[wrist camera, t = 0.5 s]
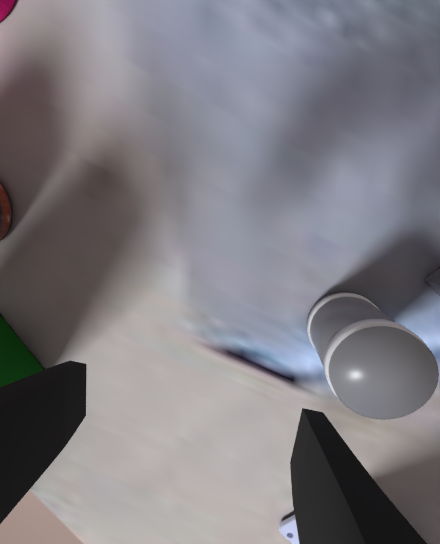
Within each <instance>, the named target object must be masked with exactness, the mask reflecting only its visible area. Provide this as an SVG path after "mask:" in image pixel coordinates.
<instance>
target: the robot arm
mask: <svg viewBox="0 0 440 544" xmlns="http://www.w3.org/2000/svg"><path fill="white" fill-rule="evenodd" d="M85 416H86V364H83V363H79V362H74V361H68V362H64V363H61V364H59V365H56V366H53V367H50V368H48V369H45V370H43V371H40V372H38V373H35V374H32V375H30V376H27V377H25V378H22V379H20V380H17V381H15V382H12V383H10V384H7V385H5V386H2V387H0V524H1V522H2V521H3V520H4V519H5V518H6V517H7V515H8V514H9V513H10V512H11V511H12V509H13V508H14V507H15V506H16V505H17V503H18V502H19V501H20V500H21V498H23V496H24V495H25V494H26V493H27V492H28V490H29V489H30V488H31V487H32V486H33V485H34V483H35V482H36V481H37V480H38V479H39V477H40V476H41V475H42V474H43V473H44V471H45V470H46V469H47V468H48V467H49V465H50V464H51V463H52V462H53V461H54V459H55V458H56V457H57V456H58V455H59V453H60V452H61V451H62V450H63V448H64V447H65V446H66V444H67V443H68V441H69V440H70V439H71V437H72V436H73V434H74V433H75V431H76V430H77V428H78V427H79V425H80V424H81V422H82V421H83V419H84V417H85ZM290 464H291V482H292V496H293V506H294V512H295V514H294V515H292V516H291V517H289V518H287V519H286V520H284V521H282V522H281V523H280V524H279V530H280V532H281V534H282V535H283V536H284V537H285V538H287V539H288V540H289V541H290V542H291V543H292V544H427V543H426V542H425V541H424V540H423V539H422V538H421V537H420V535H419V534H418V533H417V532H416V531H415V529H414V528H413V527H412V526H411V525H410V524H409V522H408V521H407V520H406V519H405V518H404V516H403V515H402V514H401V513H400V512H399V511H398V509H397V508H396V507H395V506H394V505H393V503H392V502H391V501H390V500H389V498H388V497H387V496H386V495H385V494H384V492H383V491H382V490H381V489H380V487H379V486H378V485H377V484H376V482H375V481H374V480H373V479H372V477H371V476H370V475H369V473H368V472H367V471H366V470H365V468H364V467H363V466H362V464H361V463H360V462H359V460H358V459H357V458H356V456H355V455H354V454H353V452H352V451H351V450H350V448H349V447H348V446H347V444H346V443H345V442H344V440H343V439H342V438H341V436H340V435H339V434H338V432H337V431H336V429H335V428H334V427H333V425H332V424H331V423H330V421H329V420H328V419H327V417H326V416H325V415H324V413H323V412H318V411H313V410H308V409H303V408H302V413H301V417H300V422H299V426H298V431H297V435H296V439H295V444H294V448H293V453H292V457H291V462H290Z"/></svg>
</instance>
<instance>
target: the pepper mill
mask: <svg viewBox="0 0 440 544" xmlns="http://www.w3.org/2000/svg"><path fill="white" fill-rule="evenodd" d="M14 2H15V0H0V22H1V21H2V20H3V19H4V18H5V17H6V16H7V14H8V13H9V12H10V10H11V9H12V7H13V5H14Z"/></svg>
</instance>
